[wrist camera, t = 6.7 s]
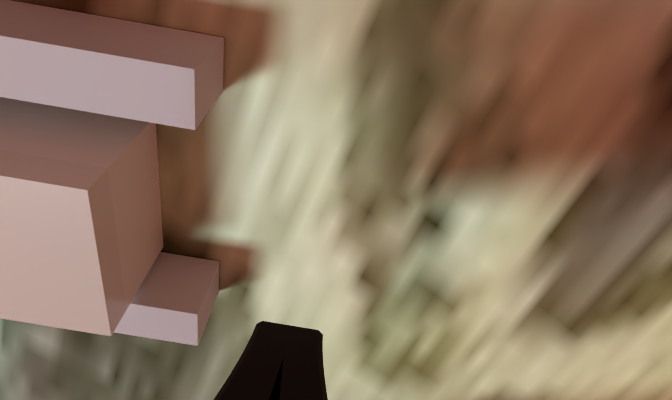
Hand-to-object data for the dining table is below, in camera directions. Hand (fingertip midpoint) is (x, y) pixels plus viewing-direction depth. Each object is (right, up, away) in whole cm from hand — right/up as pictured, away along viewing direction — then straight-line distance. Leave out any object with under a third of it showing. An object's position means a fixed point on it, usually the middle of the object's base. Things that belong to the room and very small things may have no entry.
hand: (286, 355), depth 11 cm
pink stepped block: (-8, +4, +5) cm, 10 cm away
